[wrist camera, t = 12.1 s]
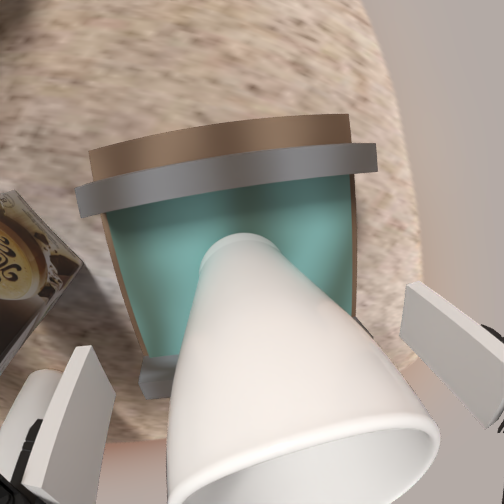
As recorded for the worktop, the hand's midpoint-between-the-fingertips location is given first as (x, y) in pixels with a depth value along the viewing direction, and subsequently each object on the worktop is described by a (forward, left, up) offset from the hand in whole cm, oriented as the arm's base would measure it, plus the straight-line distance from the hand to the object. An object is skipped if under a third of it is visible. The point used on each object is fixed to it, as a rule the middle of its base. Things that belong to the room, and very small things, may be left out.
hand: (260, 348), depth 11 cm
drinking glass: (0, 0, -8) cm, 8 cm away
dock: (0, 0, -12) cm, 12 cm away
